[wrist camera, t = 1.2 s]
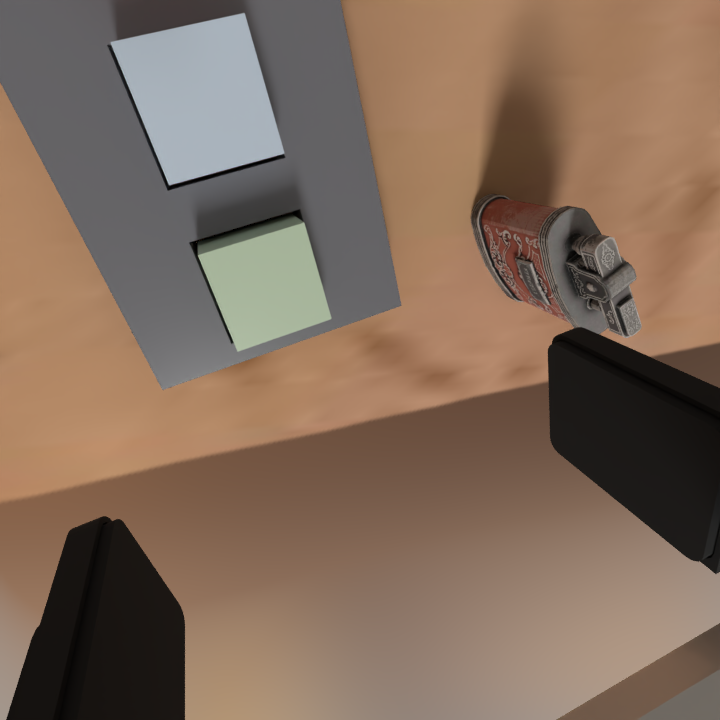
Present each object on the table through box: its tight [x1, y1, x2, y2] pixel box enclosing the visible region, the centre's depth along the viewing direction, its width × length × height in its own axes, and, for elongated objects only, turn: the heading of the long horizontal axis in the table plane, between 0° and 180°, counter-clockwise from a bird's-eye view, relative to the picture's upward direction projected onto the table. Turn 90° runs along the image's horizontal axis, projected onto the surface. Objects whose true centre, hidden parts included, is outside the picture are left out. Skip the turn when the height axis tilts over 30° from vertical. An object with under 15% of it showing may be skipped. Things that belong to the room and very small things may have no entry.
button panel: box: [0, 0, 401, 390], centre depth 21 cm, size 14×24×3 cm, turn 14°
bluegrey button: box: [110, 13, 285, 185], centre depth 20 cm, size 5×5×3 cm
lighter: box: [471, 194, 641, 338], centre depth 27 cm, size 8×3×10 cm, turn 35°
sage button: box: [198, 213, 332, 352], centre depth 23 cm, size 5×5×3 cm
